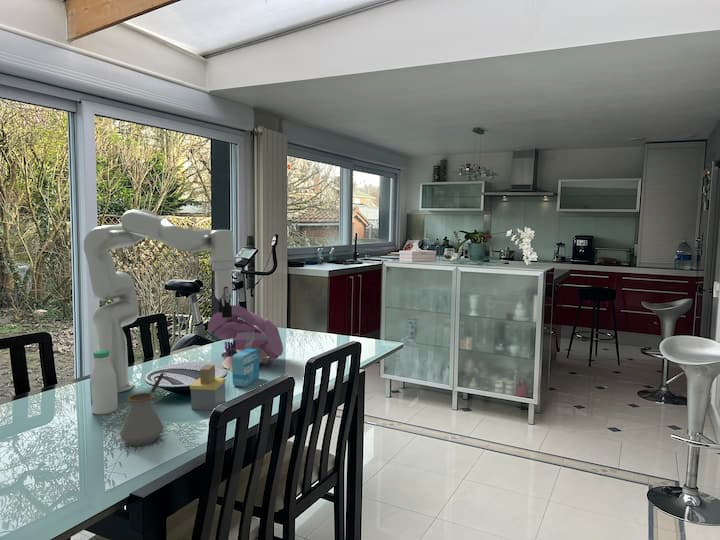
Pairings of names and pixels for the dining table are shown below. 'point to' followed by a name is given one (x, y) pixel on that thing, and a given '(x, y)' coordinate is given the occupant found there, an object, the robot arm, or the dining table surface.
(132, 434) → the coffee pot
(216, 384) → the lid
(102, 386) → the milk bottle
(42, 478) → the dining table surface
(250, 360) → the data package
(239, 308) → the pink curved piece
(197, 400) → the box
